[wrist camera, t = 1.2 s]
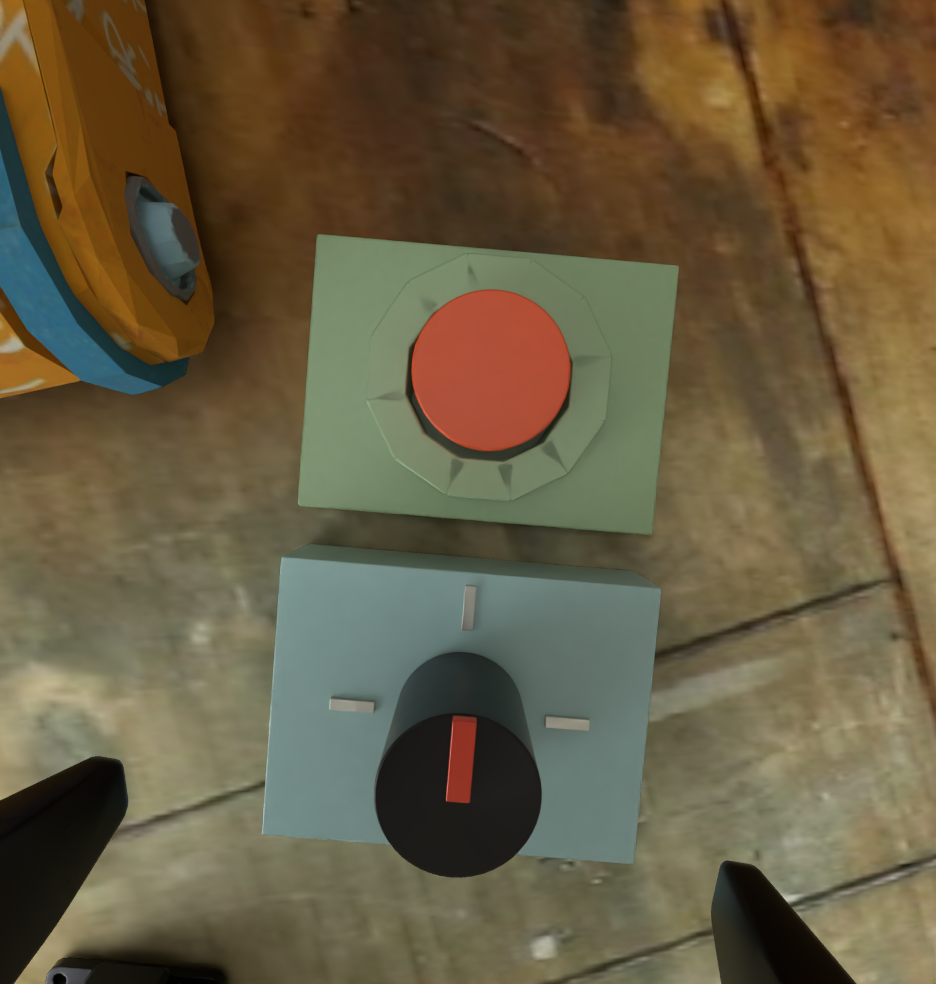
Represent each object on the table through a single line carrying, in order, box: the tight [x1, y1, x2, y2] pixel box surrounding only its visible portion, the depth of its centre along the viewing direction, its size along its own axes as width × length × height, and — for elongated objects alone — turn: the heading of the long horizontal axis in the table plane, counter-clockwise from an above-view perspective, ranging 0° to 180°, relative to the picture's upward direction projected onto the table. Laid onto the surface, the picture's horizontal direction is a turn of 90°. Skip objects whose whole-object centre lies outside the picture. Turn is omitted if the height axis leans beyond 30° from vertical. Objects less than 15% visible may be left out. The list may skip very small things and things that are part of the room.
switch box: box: [298, 234, 679, 535], centre depth 19 cm, size 9×12×4 cm
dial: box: [374, 652, 542, 878], centre depth 15 cm, size 4×4×5 cm
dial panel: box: [262, 544, 661, 864], centre depth 19 cm, size 9×12×3 cm
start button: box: [412, 289, 571, 451], centre depth 16 cm, size 4×4×2 cm
